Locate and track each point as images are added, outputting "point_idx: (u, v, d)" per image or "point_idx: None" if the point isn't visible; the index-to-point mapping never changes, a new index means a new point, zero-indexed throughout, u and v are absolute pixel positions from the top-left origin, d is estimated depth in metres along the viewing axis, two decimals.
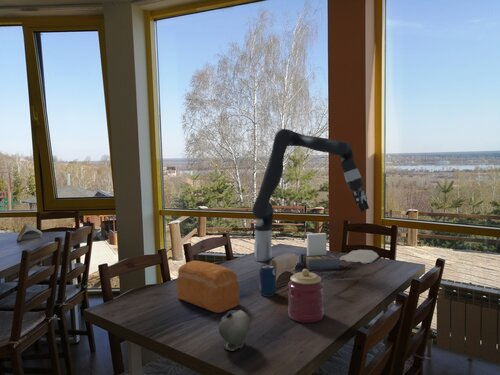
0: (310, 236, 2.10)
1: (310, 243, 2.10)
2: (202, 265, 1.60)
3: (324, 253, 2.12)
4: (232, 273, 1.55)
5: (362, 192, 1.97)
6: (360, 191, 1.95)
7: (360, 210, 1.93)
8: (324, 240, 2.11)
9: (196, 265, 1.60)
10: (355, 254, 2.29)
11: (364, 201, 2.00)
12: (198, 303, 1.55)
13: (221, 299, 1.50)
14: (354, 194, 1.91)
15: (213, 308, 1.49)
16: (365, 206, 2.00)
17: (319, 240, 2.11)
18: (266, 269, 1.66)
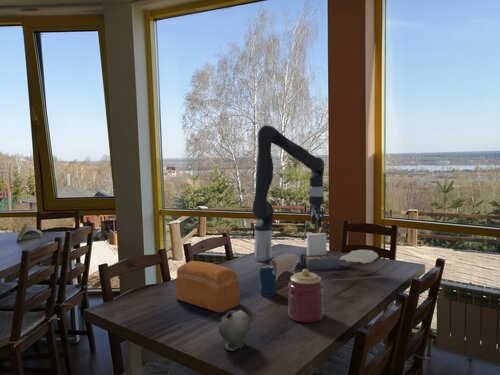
0: (310, 236, 2.10)
1: (310, 243, 2.10)
2: (202, 265, 1.59)
3: (324, 253, 2.12)
4: (233, 272, 1.56)
5: None
6: None
7: (317, 225, 2.07)
8: (324, 240, 2.11)
9: (196, 265, 1.60)
10: (355, 254, 2.29)
11: (314, 216, 2.15)
12: (199, 303, 1.55)
13: (223, 299, 1.50)
14: (320, 210, 2.04)
15: (215, 307, 1.50)
16: (313, 221, 2.15)
17: (319, 240, 2.11)
18: (266, 269, 1.66)
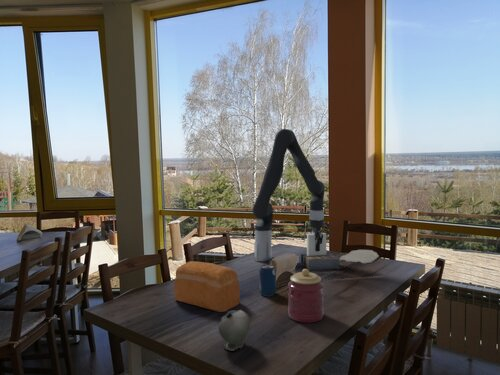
0: (310, 236, 2.10)
1: (309, 243, 2.10)
2: (202, 265, 1.59)
3: (324, 253, 2.12)
4: (233, 272, 1.57)
5: None
6: None
7: (316, 249, 2.10)
8: (324, 240, 2.12)
9: (195, 266, 1.59)
10: (355, 254, 2.29)
11: None
12: (200, 304, 1.55)
13: (225, 298, 1.51)
14: (319, 237, 2.06)
15: (218, 307, 1.50)
16: None
17: None
18: (266, 269, 1.66)
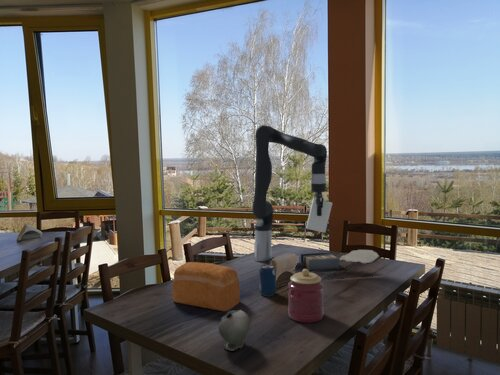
0: (315, 201, 2.06)
1: (313, 207, 2.07)
2: (202, 265, 1.59)
3: (325, 222, 2.07)
4: (234, 271, 1.58)
5: None
6: (322, 196, 2.06)
7: (317, 214, 2.06)
8: (328, 209, 2.07)
9: (195, 266, 1.59)
10: (355, 254, 2.29)
11: None
12: (202, 304, 1.54)
13: (228, 297, 1.52)
14: (319, 200, 2.01)
15: (221, 307, 1.50)
16: None
17: (324, 207, 2.07)
18: (266, 269, 1.66)
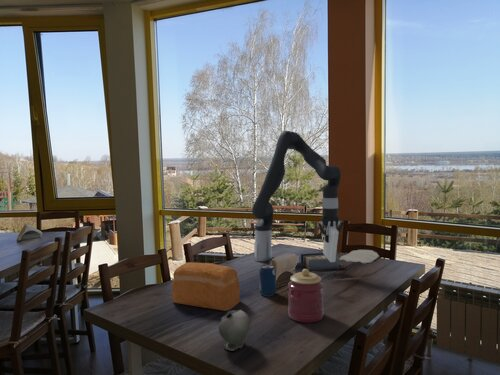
0: None
1: None
2: (202, 265, 1.59)
3: (330, 251, 1.90)
4: (234, 271, 1.59)
5: (332, 222, 1.91)
6: (327, 221, 1.91)
7: None
8: (332, 237, 1.88)
9: (195, 266, 1.58)
10: (355, 254, 2.29)
11: None
12: (203, 304, 1.54)
13: (229, 297, 1.52)
14: (318, 225, 1.92)
15: (223, 306, 1.51)
16: None
17: (330, 234, 1.90)
18: (266, 269, 1.66)
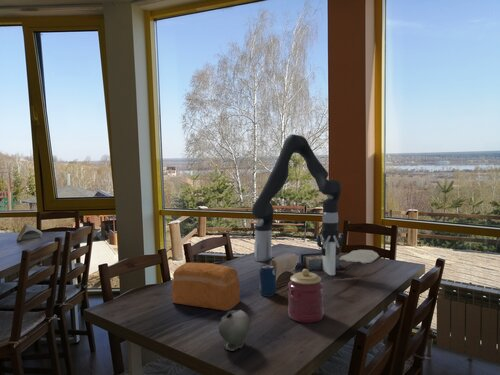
0: None
1: None
2: (202, 265, 1.59)
3: (329, 264, 1.92)
4: (235, 270, 1.59)
5: (332, 236, 1.92)
6: (328, 235, 1.92)
7: None
8: (329, 249, 1.91)
9: (195, 266, 1.58)
10: (355, 254, 2.29)
11: (336, 246, 1.94)
12: (203, 304, 1.54)
13: (230, 297, 1.52)
14: (316, 237, 1.93)
15: (224, 306, 1.51)
16: None
17: (327, 247, 1.94)
18: (266, 269, 1.66)
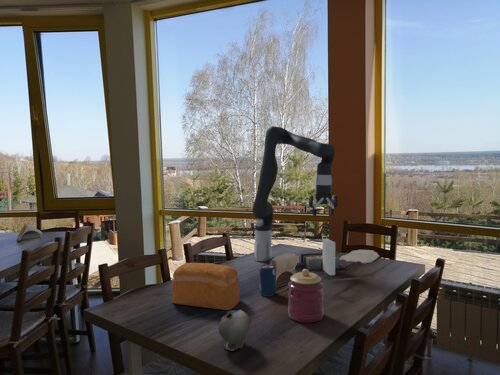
0: (323, 241, 1.99)
1: (323, 247, 2.00)
2: (202, 265, 1.59)
3: (329, 264, 1.92)
4: (235, 270, 1.59)
5: (326, 199, 1.96)
6: (321, 197, 1.96)
7: None
8: (329, 249, 1.92)
9: (196, 266, 1.58)
10: (355, 254, 2.29)
11: (331, 207, 1.99)
12: (204, 304, 1.54)
13: (231, 296, 1.53)
14: (309, 198, 1.97)
15: (225, 306, 1.51)
16: (330, 212, 1.99)
17: (327, 247, 1.94)
18: (266, 269, 1.66)
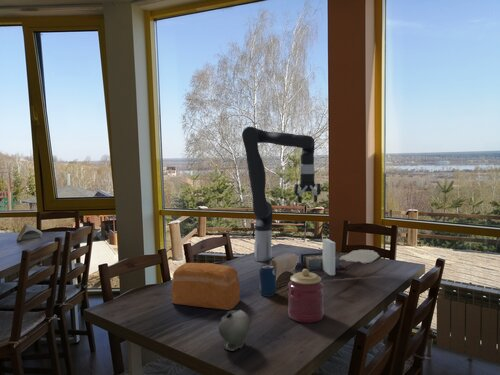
0: (323, 241, 1.99)
1: (323, 247, 2.00)
2: (203, 265, 1.59)
3: (329, 264, 1.92)
4: (235, 270, 1.60)
5: (309, 187, 2.14)
6: (305, 185, 2.13)
7: None
8: (329, 249, 1.92)
9: (196, 267, 1.58)
10: (355, 254, 2.29)
11: (314, 195, 2.16)
12: (204, 304, 1.54)
13: (232, 296, 1.53)
14: None
15: (225, 305, 1.52)
16: (314, 199, 2.17)
17: (327, 247, 1.94)
18: (266, 269, 1.66)
